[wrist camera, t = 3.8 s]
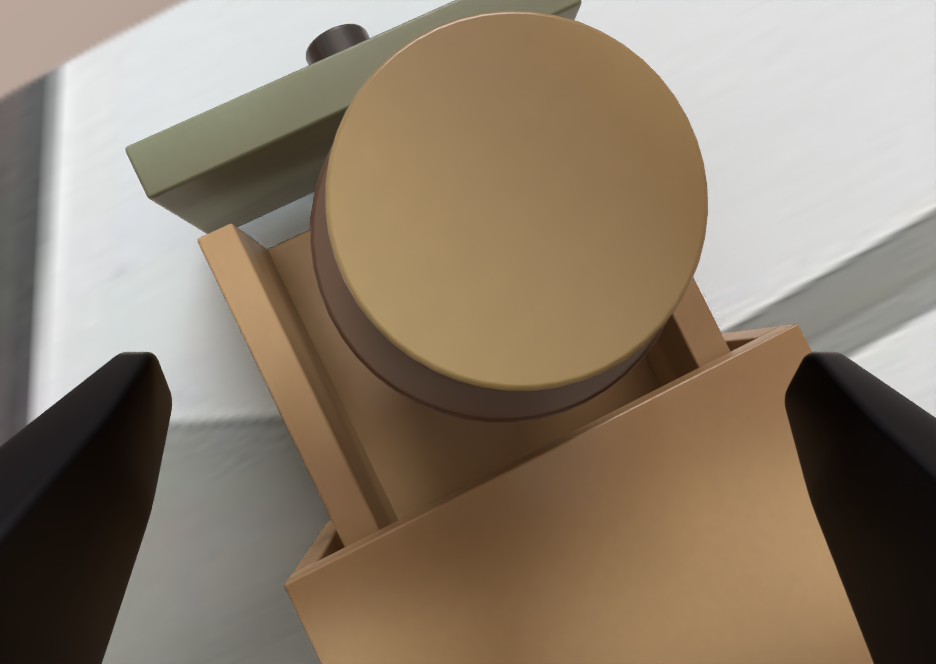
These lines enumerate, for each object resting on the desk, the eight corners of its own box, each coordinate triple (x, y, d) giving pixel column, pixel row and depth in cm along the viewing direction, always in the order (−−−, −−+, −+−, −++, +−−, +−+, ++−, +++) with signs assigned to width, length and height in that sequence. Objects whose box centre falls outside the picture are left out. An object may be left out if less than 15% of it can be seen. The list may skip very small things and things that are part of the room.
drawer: (174, 158, 18) (96, 94, 13) (511, 6, 18) (534, -97, 14) (397, 621, 17) (387, 699, 13) (731, 447, 18) (819, 471, 14)
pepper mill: (484, 425, 17) (588, 534, 6) (345, 332, 17) (177, 258, 6) (575, 288, 17) (840, 138, 6) (439, 195, 17) (454, -127, 6)
